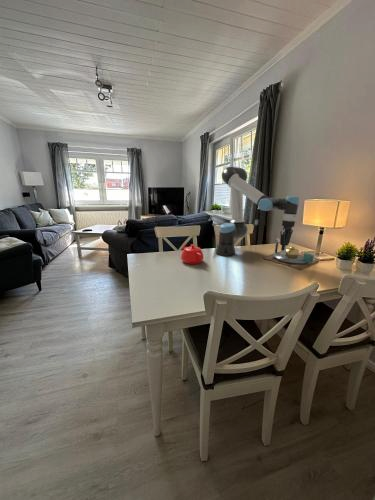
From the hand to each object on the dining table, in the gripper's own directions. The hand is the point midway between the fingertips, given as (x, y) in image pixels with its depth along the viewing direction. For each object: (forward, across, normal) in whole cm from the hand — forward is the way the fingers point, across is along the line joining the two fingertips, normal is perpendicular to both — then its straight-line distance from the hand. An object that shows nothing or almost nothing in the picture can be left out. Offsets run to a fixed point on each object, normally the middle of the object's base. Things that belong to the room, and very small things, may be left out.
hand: (282, 254), depth 146 cm
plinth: (+6, +11, -1) cm, 13 cm away
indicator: (+6, +16, +13) cm, 22 cm away
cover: (+4, +12, -1) cm, 12 cm away
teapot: (+8, -49, +39) cm, 63 cm away
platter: (+5, +11, -2) cm, 12 cm away
